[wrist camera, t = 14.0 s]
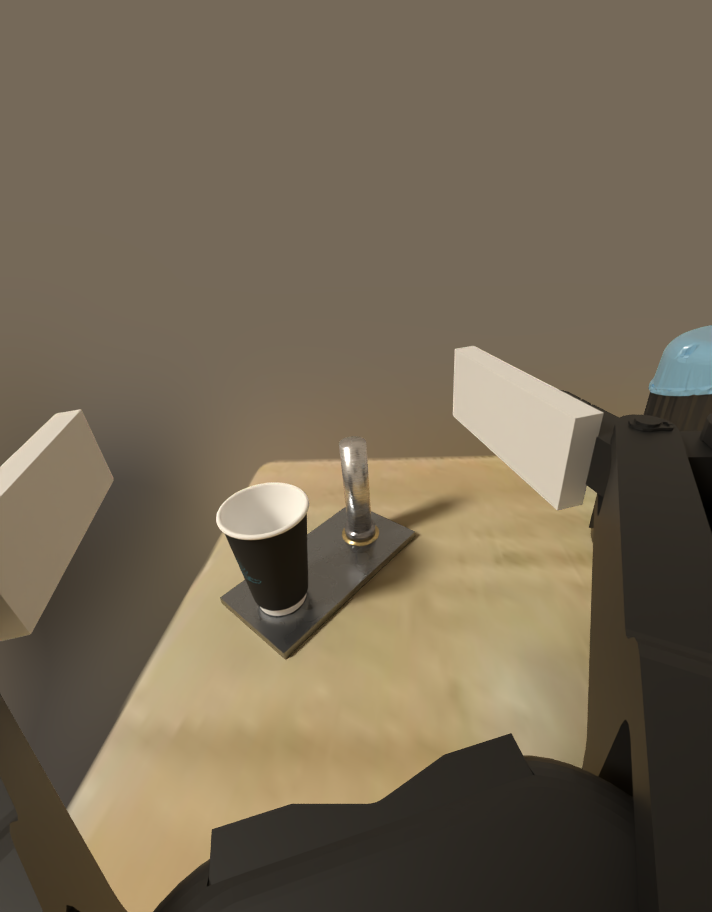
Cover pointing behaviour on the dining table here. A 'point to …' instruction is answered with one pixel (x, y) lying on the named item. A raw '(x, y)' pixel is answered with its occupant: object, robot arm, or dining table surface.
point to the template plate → (322, 580)
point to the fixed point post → (356, 490)
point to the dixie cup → (270, 543)
